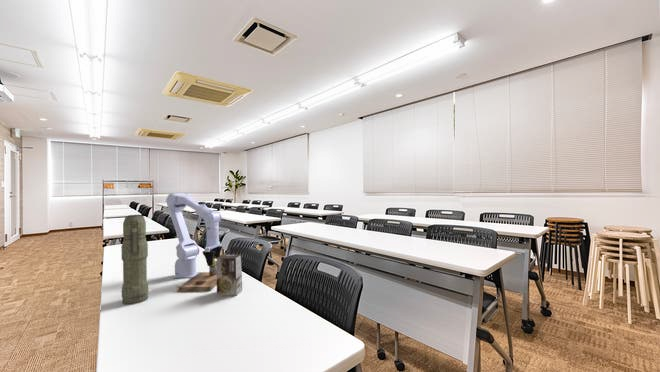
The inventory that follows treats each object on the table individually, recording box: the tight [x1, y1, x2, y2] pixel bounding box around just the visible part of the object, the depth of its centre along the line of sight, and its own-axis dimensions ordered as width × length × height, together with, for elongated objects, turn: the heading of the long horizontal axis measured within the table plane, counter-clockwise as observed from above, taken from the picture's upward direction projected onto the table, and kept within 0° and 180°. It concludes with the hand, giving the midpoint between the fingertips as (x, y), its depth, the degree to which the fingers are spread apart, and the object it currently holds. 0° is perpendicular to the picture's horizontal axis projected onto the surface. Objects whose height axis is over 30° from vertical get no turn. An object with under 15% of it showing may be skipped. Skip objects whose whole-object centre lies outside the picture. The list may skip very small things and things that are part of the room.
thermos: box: [120, 214, 149, 306], centre depth 112 cm, size 9×12×35 cm
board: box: [177, 271, 217, 293], centre depth 132 cm, size 14×21×2 cm, turn 1°
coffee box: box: [216, 254, 243, 297], centre depth 119 cm, size 9×6×16 cm
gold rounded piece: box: [206, 256, 217, 276], centre depth 137 cm, size 5×5×9 cm
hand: (213, 263), depth 137 cm, fingers open, 7 cm apart
